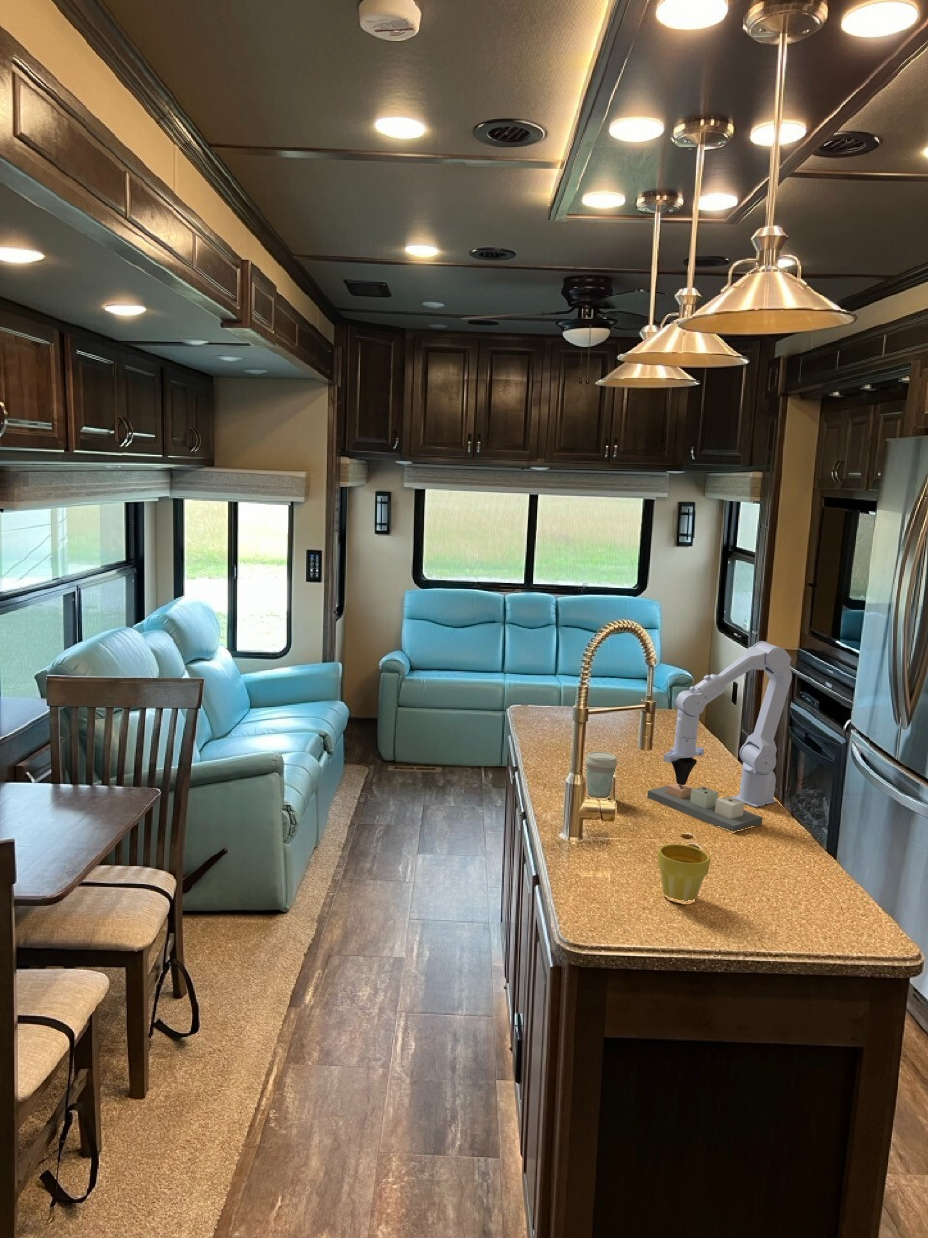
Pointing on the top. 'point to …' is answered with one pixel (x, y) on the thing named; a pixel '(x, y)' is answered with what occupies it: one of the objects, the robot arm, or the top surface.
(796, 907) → the top surface
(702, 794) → the key two
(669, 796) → the keypad board
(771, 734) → the robot arm
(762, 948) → the top surface
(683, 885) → the plant pot
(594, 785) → the coffee cup
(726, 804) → the key one
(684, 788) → the key three
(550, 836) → the top surface
